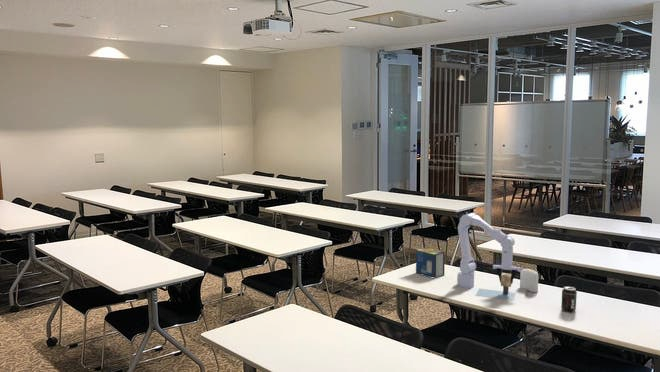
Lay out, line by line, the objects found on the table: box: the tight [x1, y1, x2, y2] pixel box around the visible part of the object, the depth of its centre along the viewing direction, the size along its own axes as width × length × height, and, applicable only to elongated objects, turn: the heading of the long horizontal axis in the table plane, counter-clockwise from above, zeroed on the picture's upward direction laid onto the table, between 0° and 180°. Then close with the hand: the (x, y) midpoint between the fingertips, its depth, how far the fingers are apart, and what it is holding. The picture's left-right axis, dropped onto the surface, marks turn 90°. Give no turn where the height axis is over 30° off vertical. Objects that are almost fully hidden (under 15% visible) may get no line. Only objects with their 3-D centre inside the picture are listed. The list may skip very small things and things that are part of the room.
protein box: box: [415, 247, 446, 278], centre depth 334 cm, size 10×15×16 cm
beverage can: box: [560, 286, 578, 313], centre depth 268 cm, size 7×7×12 cm
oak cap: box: [500, 272, 512, 288], centre depth 291 cm, size 5×5×6 cm
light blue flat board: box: [474, 288, 517, 302], centre depth 291 cm, size 20×14×1 cm
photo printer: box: [519, 268, 539, 293], centre depth 301 cm, size 10×4×12 cm, turn 39°
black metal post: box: [502, 286, 510, 295], centre depth 292 cm, size 3×3×5 cm
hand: (506, 282), depth 291 cm, fingers closed on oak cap, 5 cm apart
